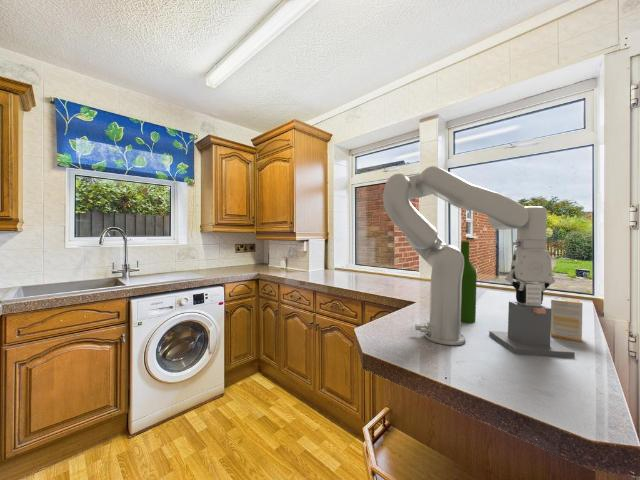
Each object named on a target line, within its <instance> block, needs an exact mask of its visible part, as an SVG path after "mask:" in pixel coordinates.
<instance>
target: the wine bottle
mask: <svg viewBox="0 0 640 480" xmlns="http://www.w3.org/2000/svg"><path fill="white" fill-rule="evenodd" d="M460 244H461V245H460V251H461V253H462V254H463V257H464V270H463V276H462V289H461V323H464V324H473V323H476V316H477V315H476V314H477V282H478V281H477V279H478V278H477V270H476V269H475V267H474V265H473V264H472V262H471V260H470V241H468V240H467V241H465V240H461V243H460Z"/></svg>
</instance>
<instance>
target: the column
mask: <svg viewBox="0 0 640 480" xmlns="http://www.w3.org/2000/svg"><path fill="white" fill-rule="evenodd" d="M523 291H525V303H520V302H518V304H519V305H522V306H524V307H541V305H542V304H541V293H542V284H540V282H525V285H524V288H523Z"/></svg>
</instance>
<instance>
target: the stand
mask: <svg viewBox="0 0 640 480" xmlns="http://www.w3.org/2000/svg"><path fill="white" fill-rule="evenodd" d="M507 313H508V314H507V315H508V317H507V320H508V321H507V331H499V330H489V331H488V332H489V333H488V334H489V336H490V337H491V338H492V339H494V340H495V341H496V342H498V343H500V344H501V345H502V346H504V347H505V348H506V349H508V350H509V351H510V352H512V353H513V354H514V355H524V356H525V355H527V356H542V357H558V358H559V357H561V358H575V357H576V356H575V355H576V354H575V353H576V352H575V351H573V350H572V349H569V348H568V347H565V346H563V345H562V344H560V343H558V342H555V341H554V340H552V339H551V338H552V336H551V307H548V306H546V305H542V304H541V307H524V306H522V305H519V304H518V302H517V301H511V300H510V301H508V312H507Z"/></svg>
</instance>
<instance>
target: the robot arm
mask: <svg viewBox="0 0 640 480" xmlns="http://www.w3.org/2000/svg"><path fill="white" fill-rule="evenodd" d="M431 195H434V196H435V197H437V198H439V199H441V200H442V201H444V202H446V203H448V204H450V205H452V206H454V207H455V208H458V209H462V210H464V211H473V212H477V213H480V214H483V215H485V216H487V221H488V224H489V225H490V226H491V227H492V228H493V229H496V230H503V231H504V230H516V240H515V241H512V247H515V249H514V250H513V253H512V257H511V263H510V272H509V273H508V275H506V277H505V279H504V280H505V281H506V282H508V283H509V284H510V285H511V286H512V287H513V288H514V289H515V299H516V302H520V303H525V291H523V288H524V285H525V282H540V284H542V293H541V305H542V304H543V301H544V292H545V291H546V289H548V287H550V286H551V285H552V284H554V283H556V280H555V278H554V277H553V269H552V268H553V267H552V258H551V255H550V250H547V222H548V211H547V208H546V207H545V206H539V205H538V206H536V205H535V206H534V205H533V206H531V205H529V206H524V205H522V204H521V203H519V202H517V201H515V200H514V199H511V198H509V197H508V196H506V195H504V194H501V193H499V192H496V191H493V190H489V189H488V188H484V187H481V186H479V185H475V184H472V183H470V181H469V182H468V181H466V180H465V179H463V178H461V177H459V176H457V175H455V174H453V173H451V172H449V171H447V170H445V169H444V168H441V167H439V166H436V165H435V166H434V165H432V166H428V167H427V168H425V169H424V170H423V171H422V172H421V173H418V174H416V175H412V176H407V175H405V174H403V173H395V174H392V175H391V176H390V177H389V178H388V179H387V181H386V183H385V185H384V189H383V192H382V201H383V207H384V210H385V213H386V214H387V216H388V218H389V219H390V220H391V221H392V223H393V224H394V225H395V226H396V227H397V228H398V229H399V230H400V232H402V234H403V235H404V236H405V238H406V242H407V244H409V246H410V247H412V249H413V250H414V251H415V252H416V253H417V254H418V255H419V256H420V257H421V258H422V259H423V260H424V262H426V263H427V264H428V265H429V266H430V267H431V273H430V287H429V288H430V289H429V290H430V291H429V292H430V294H429V295H430V297H429V300H430V303H429V321H426V323H425V324H423V325H422V324H415V325H414V330H415V331H420V333H424V337H425V338H426V339H428V341H430V342H434V343H436V344H441V345H445V346H448V345H449V346H460V345H464V344H465V343H466V341H467V340H466V336H464V335H463V334H461V323H462V322H461V289H462V276H463V270H464V257H463V254H462V253H461V249H459V248H458V247H456V246H455V245H453V244H446V243H445V241H444V240H443V239H442V238H440V236H439V233H438V231H437V228H436V227H435V226H434V225H433V224H432V223H430V222H429V220H428V219H426V218H425V216H423V215H422V214H421V213H420V212H419V211H418V209H416V207H414V205H413V204H412V202H411V200H415V199H419V198H422V197H427V196H431Z"/></svg>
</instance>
